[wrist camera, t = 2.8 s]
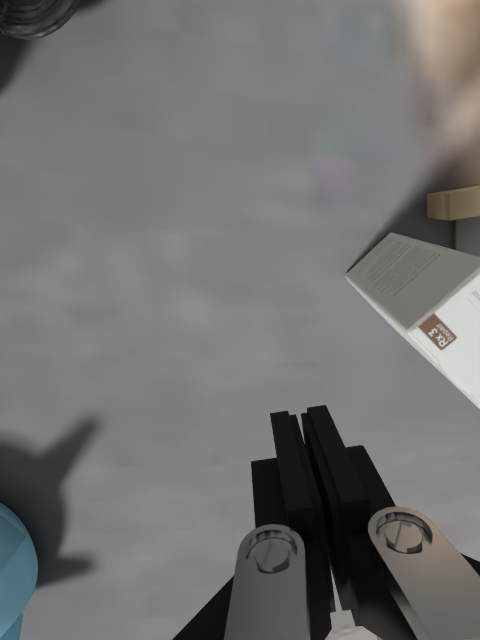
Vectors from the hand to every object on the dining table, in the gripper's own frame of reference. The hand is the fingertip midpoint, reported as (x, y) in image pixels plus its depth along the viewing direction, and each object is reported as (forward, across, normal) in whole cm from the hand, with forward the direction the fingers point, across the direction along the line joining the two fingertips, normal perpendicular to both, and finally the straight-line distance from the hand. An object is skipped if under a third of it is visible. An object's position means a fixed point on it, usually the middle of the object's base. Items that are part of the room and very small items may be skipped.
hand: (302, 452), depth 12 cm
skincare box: (+17, -9, 0) cm, 19 cm away
